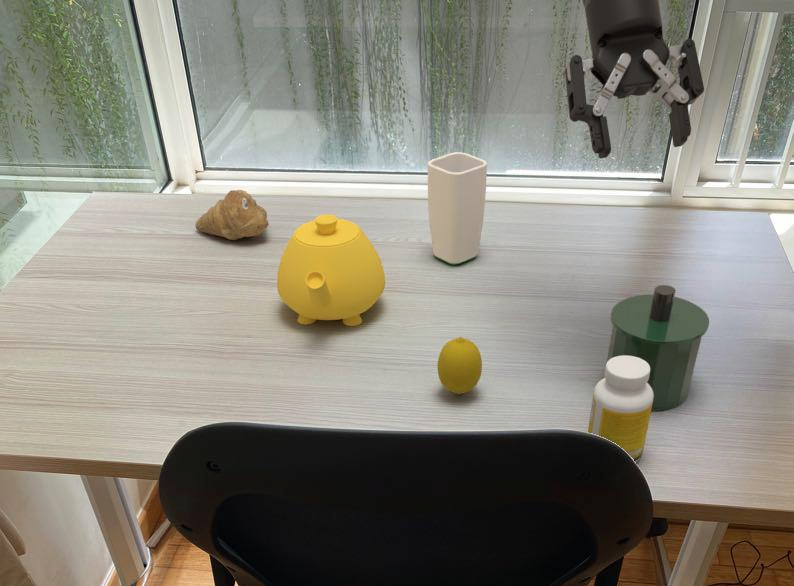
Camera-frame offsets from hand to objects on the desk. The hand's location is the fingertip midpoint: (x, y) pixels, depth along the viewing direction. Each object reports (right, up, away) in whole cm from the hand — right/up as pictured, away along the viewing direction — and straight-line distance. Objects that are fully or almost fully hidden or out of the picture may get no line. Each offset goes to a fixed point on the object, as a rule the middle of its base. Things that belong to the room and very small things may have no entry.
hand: (643, 149), depth 95 cm
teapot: (-36, -10, +33) cm, 50 cm away
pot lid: (+5, -16, +10) cm, 19 cm away
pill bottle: (-2, -32, +7) cm, 33 cm away
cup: (-17, +3, +45) cm, 49 cm away
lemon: (-19, -24, +17) cm, 35 cm away
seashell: (-54, +9, +54) cm, 77 cm away
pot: (+5, -23, +16) cm, 29 cm away
